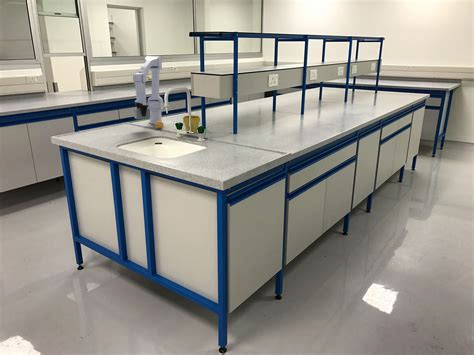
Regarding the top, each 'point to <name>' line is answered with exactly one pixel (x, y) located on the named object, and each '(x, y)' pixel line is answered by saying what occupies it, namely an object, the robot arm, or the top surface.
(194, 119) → the plant pot
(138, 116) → the grey block
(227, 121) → the top surface
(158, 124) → the ball
